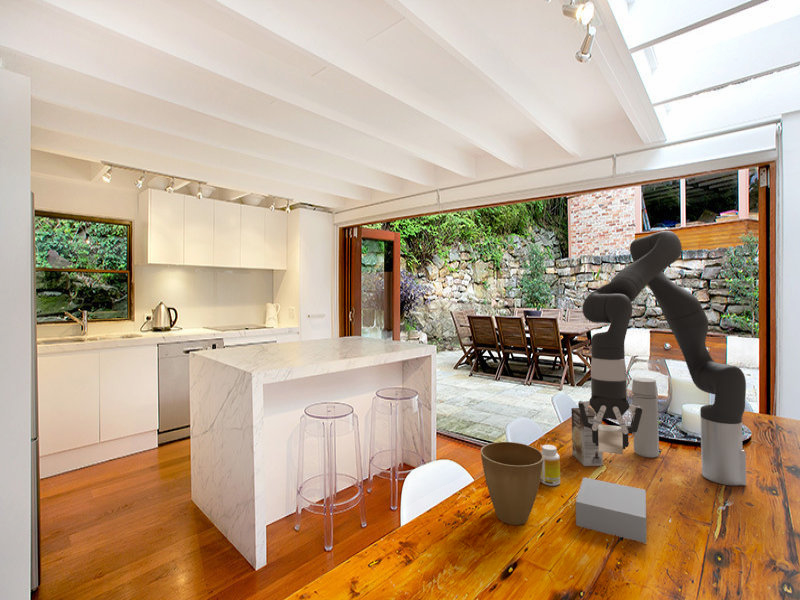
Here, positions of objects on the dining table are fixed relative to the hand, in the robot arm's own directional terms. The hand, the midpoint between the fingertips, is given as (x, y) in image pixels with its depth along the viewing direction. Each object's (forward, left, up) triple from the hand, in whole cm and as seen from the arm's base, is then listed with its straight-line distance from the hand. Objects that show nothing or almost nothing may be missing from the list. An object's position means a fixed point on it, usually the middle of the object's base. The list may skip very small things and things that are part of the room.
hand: (609, 446), depth 94 cm
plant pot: (+22, +8, -18) cm, 29 cm away
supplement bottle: (+15, -14, -18) cm, 27 cm away
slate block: (0, 0, -18) cm, 18 cm away
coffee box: (+5, -34, -18) cm, 39 cm away
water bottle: (-12, -46, -18) cm, 51 cm away
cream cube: (0, 0, -1) cm, 1 cm away
